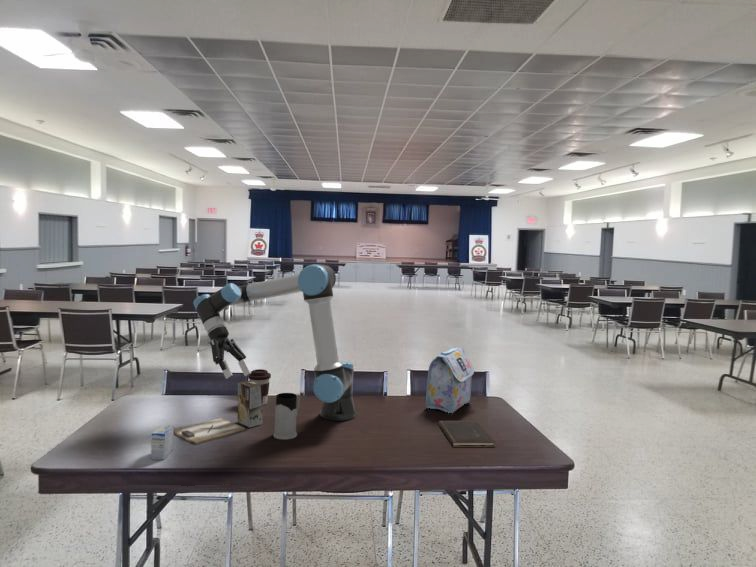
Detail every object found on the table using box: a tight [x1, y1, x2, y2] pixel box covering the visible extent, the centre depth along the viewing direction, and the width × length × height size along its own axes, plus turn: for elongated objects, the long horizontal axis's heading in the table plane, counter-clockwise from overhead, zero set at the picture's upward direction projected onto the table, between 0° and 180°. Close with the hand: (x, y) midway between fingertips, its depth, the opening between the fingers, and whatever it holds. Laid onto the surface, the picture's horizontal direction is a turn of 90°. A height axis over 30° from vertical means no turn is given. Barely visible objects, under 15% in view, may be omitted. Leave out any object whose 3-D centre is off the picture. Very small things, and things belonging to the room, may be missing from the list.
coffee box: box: [237, 379, 264, 428], centre depth 188 cm, size 9×6×16 cm
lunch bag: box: [425, 347, 475, 414], centre depth 220 cm, size 22×17×26 cm
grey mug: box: [272, 392, 301, 440], centre depth 179 cm, size 9×14×15 cm, turn 160°
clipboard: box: [174, 417, 246, 445], centre depth 178 cm, size 16×20×2 cm
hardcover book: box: [437, 420, 496, 446], centre depth 184 cm, size 16×23×2 cm
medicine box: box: [150, 424, 175, 461], centre depth 155 cm, size 8×4×9 cm, turn 5°
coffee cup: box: [247, 368, 272, 406], centre depth 213 cm, size 10×10×15 cm
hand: (238, 375), depth 188 cm, fingers open, 13 cm apart
